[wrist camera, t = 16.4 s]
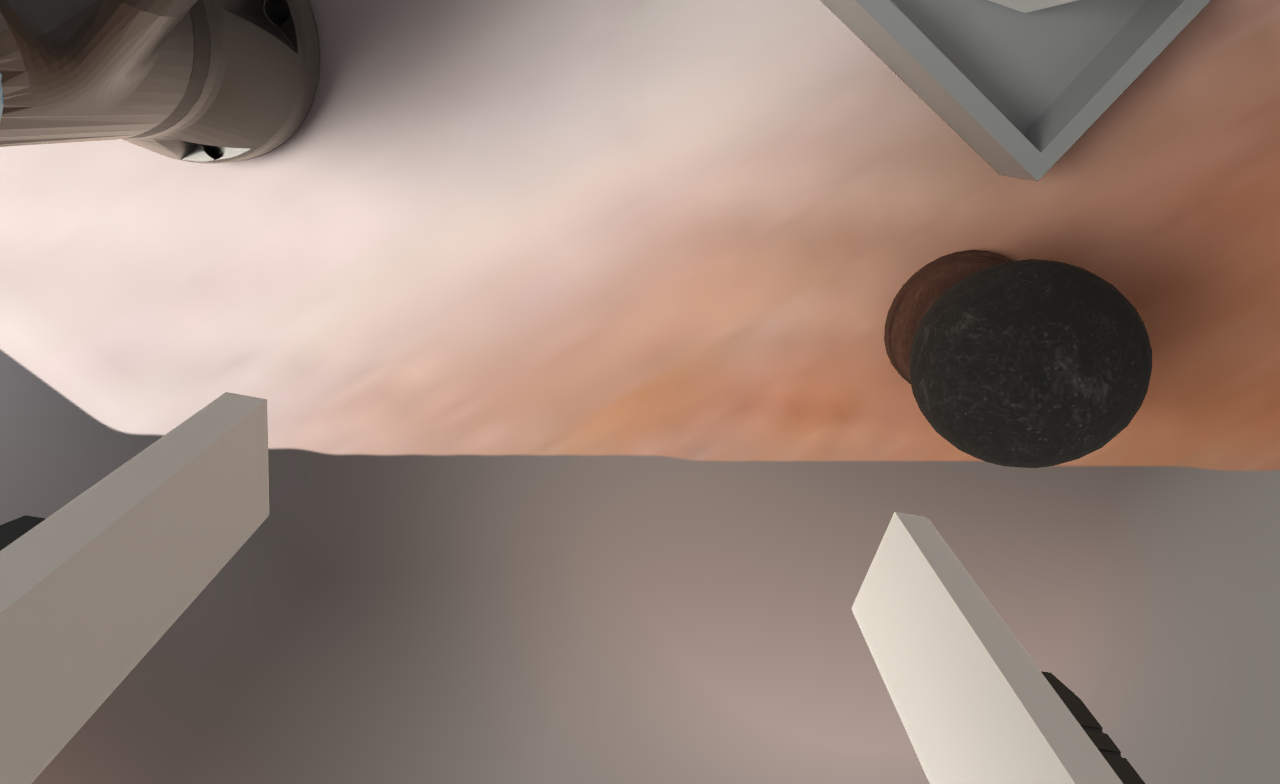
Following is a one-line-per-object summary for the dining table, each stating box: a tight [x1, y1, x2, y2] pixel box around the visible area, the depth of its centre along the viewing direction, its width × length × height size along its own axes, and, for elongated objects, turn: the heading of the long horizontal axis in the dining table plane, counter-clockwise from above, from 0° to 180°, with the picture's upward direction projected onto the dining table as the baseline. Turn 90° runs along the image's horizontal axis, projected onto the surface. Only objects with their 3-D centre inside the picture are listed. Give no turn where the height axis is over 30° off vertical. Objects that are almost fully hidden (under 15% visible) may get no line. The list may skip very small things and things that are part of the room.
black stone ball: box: [884, 250, 1152, 468], centre depth 42 cm, size 13×13×15 cm
